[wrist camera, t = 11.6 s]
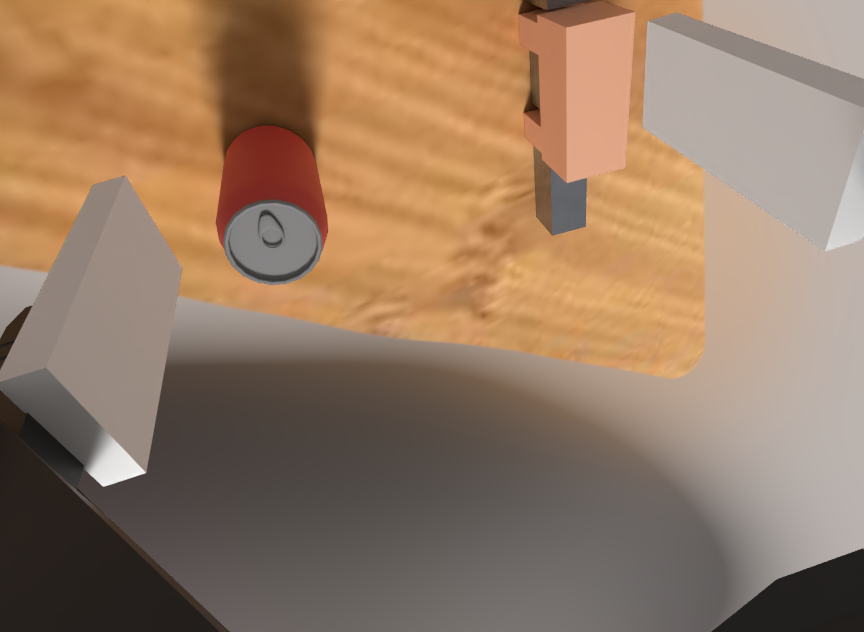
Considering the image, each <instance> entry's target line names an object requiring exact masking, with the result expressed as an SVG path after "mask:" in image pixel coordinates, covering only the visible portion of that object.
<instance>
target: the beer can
mask: <svg viewBox="0 0 864 632" xmlns="http://www.w3.org/2000/svg"><path fill="white" fill-rule="evenodd" d="M216 226H217V232H218V237H219V240H220V243H221V245H222V247H223V248H224V250H225V254H226V256H227V258H228V259H229V261H230V263H231V265H232V266H233V267H234V268H235V269H236V270H237V271H238V272H240V273H241V274H242V275H243V276H245V277H247V278H249V279H251V280H253V281H255V282H258V283H264V284H269V285H277V284H287V283H290V282H293V281H296V280H298V279H301V278H302V277H303V276H305V275H306V274H308V273H309V272H310V271H311V270H312V269H313V268H314V266H315V265H316V264H317V262H318V261H319V259H320V255H321V252H322V250H323V247H324V244H325V240H326V237H327V233H328V223H327V214H326V209H325V204H324V199H323V194H322V189H321V184H320V179H319V174H318V169H317V164H316V161H315V158H314V156H313V153H312V151H311V149H310V148H309V147H308V145H307V144H306V143H305V142H304V141H303V139H302V138H300V137H299V136H297V135H296V134H294V133H293V132H291V131H290V130H287V129H284V128H280V127H277V126H257V127H254V128H251V129H249V130H246V131H244V132H243V133H241V134H240V135H239V136H238V137H236V138H235V139H234V140H233V141H232V143H231V145H230V146H229V148H228V150H227V151H226V156H225V161H224V167H223V174H222V181H221V189H220V196H219V203H218V211H217V218H216Z"/></svg>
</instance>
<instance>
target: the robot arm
mask: <svg viewBox="0 0 864 632" xmlns="http://www.w3.org/2000/svg"><path fill="white" fill-rule="evenodd" d="M643 128H644V129H646V130H647V131H649V132H650V133H652V134H653V135H654V136H656V137H657V138H659V139H660V140H662V141H663V142H665V143H666V144H668V145H669V146H671V147H672V148H674V149H675V150H676V151H678V152H679V153H681V154H682V155H684V156H685V157H687V158H688V159H690V160H691V161H693V162H694V163H696V164H697V165H698V166H700V167H701V168H703V169H704V170H706V171H707V172H709V173H710V174H712V175H713V176H715V177H716V178H718V179H719V180H721V181H722V182H724V183H725V184H727V185H728V186H729V187H731V188H732V189H734V190H735V191H737V192H738V193H740V194H741V195H742V196H744V197H745V198H747V199H748V200H750V201H752V202H753V203H754V204H756V205H757V206H759V207H760V208H762V209H763V210H765V211H766V212H768V213H769V214H770V215H772V216H773V217H775V218H776V219H778V220H779V221H781V222H782V223H784V224H785V225H787V226H788V227H789V228H791V229H792V230H794V231H795V232H797V233H798V234H800V235H801V236H803V237H804V238H806V239H807V240H808V241H810V242H811V243H813V244H814V245H816V246H817V247H819V248H820V249H822V250H823V251H828V250H832V249H835V248H838V247H841V246H844V245H847V244H850V243H853V242H856V241H859V240H862V238H863V235H864V79H862V78H860V77H857V76H854V75H851V74H848V73H846V72H842V71H840V70H837V69H834V68H831V67H828V66H826V65H823V64H820V63H817V62H814V61H812V60H809V59H806V58H803V57H800V56H798V55H794V54H791V53H789V52H786V51H783V50H780V49H778V48H775V47H772V46H769V45H767V44H764V43H761V42H758V41H755V40H752V39H750V38H747V37H744V36H741V35H738V34H736V33H733V32H730V31H727V30H724V29H721V28H718V27H716V26H713V25H710V24H707V23H705V22H702V21H699V20H696V19H693V18H690V17H688V16H685V15H682V14H679V13H673V14H670V15H666V16H663V17H660V18H656V19H653V20H649V21H648V24H647V45H646V66H645V87H644V108H643ZM181 274H182V267H181V265H180V264H179V262H178V260H177V259H176V257H175V255H174V254H173V252H172V251H171V249H170V247H169V246H168V244H167V242H166V241H165V239H164V238H163V236H162V234H161V233H160V231H159V229H158V228H157V226H156V225H155V223H154V221H153V220H152V218H151V216H150V215H149V213H148V211H147V210H146V208H145V207H144V205H143V203H142V202H141V200H140V198H139V197H138V195H137V194H136V192H135V190H134V189H133V187H132V185H131V184H130V182H129V180H128V179H127V177H126V176H122V177H118V178H115V179H111V180H108V181H105V182H101V183H98V184H94V185H93V186H92V188H91V190H90V192H89V194H88V196H87V198H86V200H85V202H84V204H83V206H82V208H81V210H80V212H79V214H78V216H77V218H76V220H75V222H74V224H73V226H72V228H71V230H70V232H69V234H68V236H67V238H66V240H65V242H64V244H63V246H62V248H61V250H60V252H59V254H58V256H57V258H56V260H55V262H54V264H53V266H52V268H51V270H50V272H49V274H48V276H47V278H46V280H45V282H44V285H43V286H42V288H41V290H40V292H39V294H38V296H37V298H36V300H35V302H34V304H33V306H29V307H26V308H25V309H24V310H23V311H22V312H21V313H20V314H19V315H18V316H17V317H16V318H15V319H14V320H13V321H12V322H11V323H10V324H9V325H8V326H7V327H6V329H5V331H4V333H3V335H2V337H1V338H0V632H230V631H228V629H226V628H225V627H224V626H223V625H222V624H221V623H220V622H219V621H218V620H217V619H216V618H215V617H214V616H213V615H212V614H211V613H209V612H208V611H207V610H206V609H205V608H204V607H203V606H202V605H201V604H200V603H199V602H198V601H197V600H196V599H195V598H194V597H193V596H192V595H191V594H189V593H188V592H187V591H186V590H185V589H184V588H183V587H182V586H181V585H180V584H179V583H178V582H177V581H176V580H175V579H174V578H173V577H172V576H170V575H169V574H168V573H167V572H166V571H165V570H164V569H163V568H162V567H161V566H160V565H159V564H158V563H157V562H156V561H155V560H154V559H152V558H151V557H150V556H149V555H148V554H147V553H146V552H145V551H144V550H143V549H142V548H141V547H140V546H139V545H138V544H137V543H136V542H135V541H134V540H132V539H131V538H130V537H129V536H128V535H127V534H126V533H125V532H124V531H123V530H122V529H121V528H120V527H119V526H118V525H117V524H116V523H115V522H113V521H112V520H111V519H110V518H109V517H108V516H107V515H106V514H105V513H104V512H103V511H102V510H101V509H100V508H99V507H98V506H97V505H95V504H94V503H93V502H92V501H91V500H90V499H89V498H88V497H87V496H86V495H85V494H84V493H82V492H81V491H80V490H79V489H78V485H79V481H80V478H81V474H82V470H83V468H84V469H85V470H86V471H87V472H88V473H89V474H90V475H91V476H92V477H93V478H95V479H96V480H97V481H98V482H99V483H100V484H101V485H102V486H107V485H110V484H113V483H116V482H119V481H122V480H126V479H129V478H132V477H135V476H138V475H141V474H144V473H146V470H147V464H148V458H149V453H150V447H151V442H152V436H153V431H154V425H155V419H156V413H157V408H158V403H159V397H160V391H161V386H162V380H163V375H164V369H165V363H166V358H167V352H168V346H169V340H170V335H171V330H172V324H173V318H174V313H175V307H176V301H177V296H178V290H179V285H180V279H181ZM712 632H864V549H860V550H857V551H855V552H852V553H849V554H846V555H843V556H841V557H838V558H836V559H832V560H829V561H827V562H824V563H821V564H818V565H816V566H813V567H810V568H807V569H804V570H802V571H799V572H796V573H794V574H791V575H788V576H785V577H782V578H779V579H777V580H775V581H774V582H773V583H772V584H770V585H769V586H768V587H767V588H766V589H764V590H763V591H762V592H760V593H759V594H758V595H757V596H756V597H754V598H753V599H752V600H751V601H749V602H748V603H747V604H746V605H744V606H743V607H742V608H741V609H739V610H738V611H737V612H736V613H734V614H733V615H732V616H731V617H729V618H728V619H727V620H726V621H724V622H723V623H722V624H721V625H720V626H718V627H717V628H716V629H714V630H713V631H712Z"/></svg>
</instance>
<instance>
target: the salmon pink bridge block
mask: <svg viewBox="0 0 864 632" xmlns="http://www.w3.org/2000/svg"><path fill="white" fill-rule="evenodd" d="M634 26H635V12H634V11H631V10H628V9H625V8H622V7H619V6H616V5H613V4H609V3H606V2H603V1H596V2H592V3H587V4H584V3H577V4H573V5H568V6H564V7H559V8H555V9H551V10H545V9H540V10H536V11H531V12H527V13H522V14H519V33H520V45H522V46H523V47H525V48H527V49H528V50H530V51H532V52H534V53H535V54H537V55H539V86H540V109H538V110H533V111H529V112H525V113H524V131H525V138H526V139H527V140H528V141H529V142H530V143H531V144H532V145H533V146H534V147H536V148H537V149H538V150H539V151H540V152H541V153H542V160H543V161H544V162H545V163H546V164H547V165H548V166H549V167H550V168H551V169H552V170H553V171H555V172H556V173H557V174H558V175H559V176H560V177H561V178H562V179H563V180H564V181H565V182H566V183H569V182H573V181H577V180H581V179H585V178H588V177H592V176H596V175H600V174H604V173H608V172H612V171H616V170H619V169H623V168H625V163H626V148H627V133H628V118H629V102H630V87H631V72H632V57H633V42H634Z"/></svg>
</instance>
